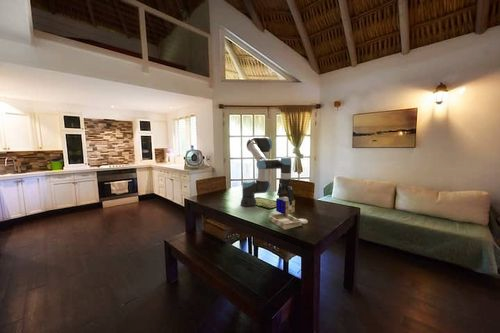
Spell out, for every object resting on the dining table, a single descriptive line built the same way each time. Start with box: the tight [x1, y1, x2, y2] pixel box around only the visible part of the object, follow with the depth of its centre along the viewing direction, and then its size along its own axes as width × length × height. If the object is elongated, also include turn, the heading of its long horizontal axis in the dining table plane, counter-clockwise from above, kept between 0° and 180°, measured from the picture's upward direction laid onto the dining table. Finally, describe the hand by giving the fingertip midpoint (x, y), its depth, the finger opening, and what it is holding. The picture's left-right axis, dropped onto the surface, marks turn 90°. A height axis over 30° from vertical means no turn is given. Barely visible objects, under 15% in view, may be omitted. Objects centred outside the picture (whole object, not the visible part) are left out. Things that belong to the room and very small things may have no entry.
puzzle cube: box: [275, 196, 296, 215], centre depth 157 cm, size 10×10×10 cm
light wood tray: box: [268, 212, 303, 230], centre depth 158 cm, size 20×15×3 cm
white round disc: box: [298, 218, 309, 225], centre depth 160 cm, size 8×8×1 cm
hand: (285, 207), depth 157 cm, fingers closed on puzzle cube, 10 cm apart
